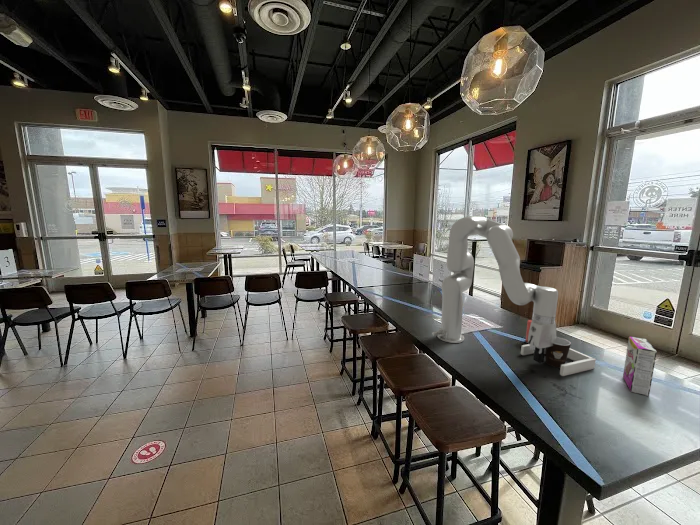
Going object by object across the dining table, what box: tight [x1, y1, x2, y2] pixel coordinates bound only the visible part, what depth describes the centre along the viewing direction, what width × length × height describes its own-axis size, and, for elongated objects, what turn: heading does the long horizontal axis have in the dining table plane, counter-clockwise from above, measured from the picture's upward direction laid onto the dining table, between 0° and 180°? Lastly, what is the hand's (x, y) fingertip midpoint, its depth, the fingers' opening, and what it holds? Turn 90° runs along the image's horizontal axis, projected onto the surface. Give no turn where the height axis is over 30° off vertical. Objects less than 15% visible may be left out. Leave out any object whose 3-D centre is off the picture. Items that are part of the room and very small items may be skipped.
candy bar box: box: [622, 336, 657, 397], centre depth 102 cm, size 11×5×16 cm, turn 148°
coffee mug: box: [544, 336, 572, 369], centre depth 119 cm, size 12×9×10 cm
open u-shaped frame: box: [520, 344, 597, 377], centre depth 121 cm, size 17×18×4 cm
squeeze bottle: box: [525, 319, 532, 343], centre depth 138 cm, size 5×5×12 cm
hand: (538, 361), depth 118 cm, fingers closed
